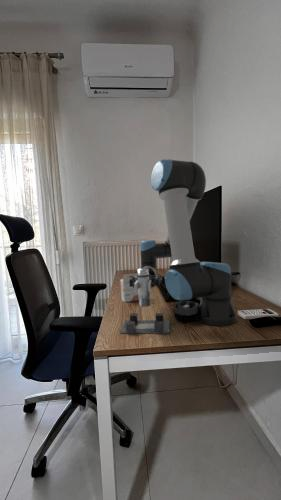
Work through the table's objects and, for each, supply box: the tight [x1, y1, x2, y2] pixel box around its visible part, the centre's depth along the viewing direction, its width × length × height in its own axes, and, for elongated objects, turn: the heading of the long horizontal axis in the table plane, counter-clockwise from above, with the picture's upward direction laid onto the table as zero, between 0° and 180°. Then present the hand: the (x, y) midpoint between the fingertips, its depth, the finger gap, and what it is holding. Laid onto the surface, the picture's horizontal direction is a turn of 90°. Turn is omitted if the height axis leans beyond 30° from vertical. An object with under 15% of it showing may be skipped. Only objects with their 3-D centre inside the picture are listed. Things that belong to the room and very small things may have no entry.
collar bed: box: [119, 312, 171, 335], centre depth 93 cm, size 18×12×3 cm, turn 84°
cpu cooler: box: [172, 300, 200, 324], centre depth 100 cm, size 10×6×10 cm
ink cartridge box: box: [120, 272, 139, 303], centre depth 132 cm, size 9×5×15 cm, turn 112°
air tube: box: [136, 267, 151, 308], centre depth 93 cm, size 4×4×14 cm
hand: (142, 287), depth 87 cm, fingers closed on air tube, 4 cm apart
